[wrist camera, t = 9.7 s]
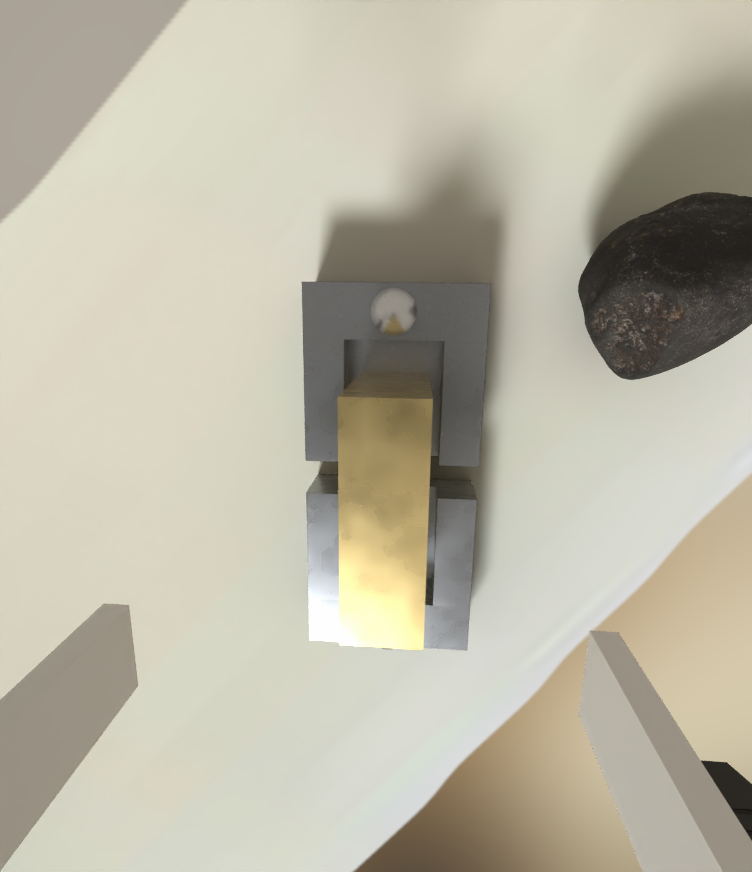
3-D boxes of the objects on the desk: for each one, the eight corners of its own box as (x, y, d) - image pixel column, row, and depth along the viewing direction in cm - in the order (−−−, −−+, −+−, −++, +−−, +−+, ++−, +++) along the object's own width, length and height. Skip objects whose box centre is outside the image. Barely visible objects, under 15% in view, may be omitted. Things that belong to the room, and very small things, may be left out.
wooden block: (360, 556, 33) (339, 644, 24) (361, 372, 30) (337, 396, 21) (422, 559, 33) (423, 650, 24) (429, 373, 30) (433, 399, 21)
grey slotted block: (319, 608, 36) (306, 648, 32) (315, 285, 31) (298, 280, 26) (462, 617, 35) (468, 659, 31) (483, 286, 30) (493, 282, 26)
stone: (637, 339, 32) (840, 316, 23) (572, 406, 29) (779, 407, 20) (595, 219, 29) (809, 146, 21) (519, 280, 26) (733, 223, 18)
